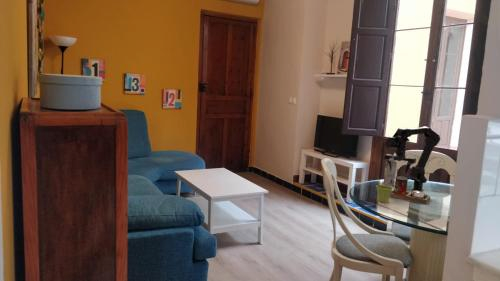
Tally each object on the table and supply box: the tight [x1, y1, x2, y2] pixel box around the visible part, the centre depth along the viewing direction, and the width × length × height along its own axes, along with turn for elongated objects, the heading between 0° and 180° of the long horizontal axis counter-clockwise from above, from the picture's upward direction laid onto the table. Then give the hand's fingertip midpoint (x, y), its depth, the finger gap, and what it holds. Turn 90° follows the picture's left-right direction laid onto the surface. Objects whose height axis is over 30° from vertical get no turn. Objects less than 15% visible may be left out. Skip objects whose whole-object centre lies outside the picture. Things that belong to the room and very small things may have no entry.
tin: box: [412, 190, 425, 199], centre depth 242 cm, size 6×6×5 cm
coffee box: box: [383, 160, 398, 186], centre depth 280 cm, size 9×6×16 cm
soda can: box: [393, 175, 409, 196], centre depth 248 cm, size 7×7×12 cm
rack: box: [390, 188, 431, 205], centre depth 245 cm, size 12×22×2 cm, turn 56°
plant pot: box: [375, 184, 394, 203], centre depth 235 cm, size 9×9×9 cm
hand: (398, 171), depth 258 cm, fingers open, 9 cm apart
